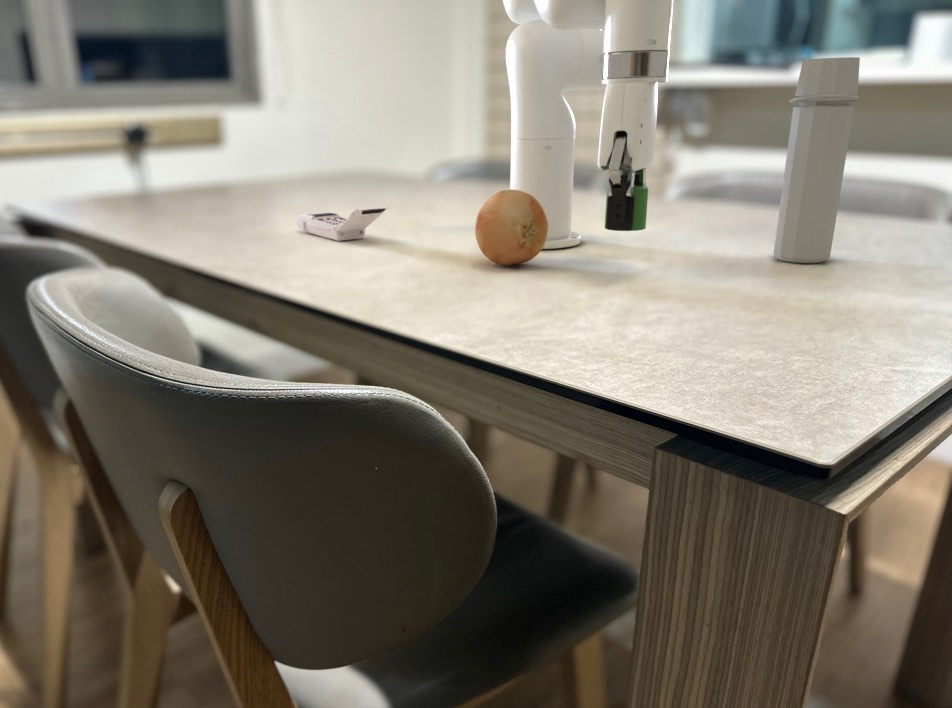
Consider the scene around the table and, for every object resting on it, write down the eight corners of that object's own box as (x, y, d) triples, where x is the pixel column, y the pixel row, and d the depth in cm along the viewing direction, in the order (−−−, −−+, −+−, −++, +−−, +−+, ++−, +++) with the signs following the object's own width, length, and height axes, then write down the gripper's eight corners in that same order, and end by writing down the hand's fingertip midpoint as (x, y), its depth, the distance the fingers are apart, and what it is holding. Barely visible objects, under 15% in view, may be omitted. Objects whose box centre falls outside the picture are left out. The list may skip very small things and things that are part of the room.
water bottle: (840, 265, 105) (874, 56, 96) (775, 264, 106) (803, 58, 98) (821, 252, 113) (851, 59, 104) (761, 251, 115) (786, 61, 106)
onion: (505, 275, 104) (506, 196, 100) (460, 264, 112) (460, 189, 108) (562, 266, 109) (565, 189, 105) (515, 255, 117) (516, 184, 113)
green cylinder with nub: (600, 230, 100) (602, 183, 98) (610, 224, 105) (612, 180, 103) (640, 231, 98) (644, 184, 96) (649, 226, 102) (652, 180, 100)
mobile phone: (357, 209, 123) (287, 195, 143) (358, 248, 125) (289, 229, 145) (391, 206, 126) (317, 193, 146) (391, 244, 128) (319, 226, 148)
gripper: (620, 73, 104) (612, 217, 110) (583, 69, 90) (576, 235, 96) (680, 70, 100) (668, 219, 107) (651, 66, 86) (640, 238, 93)
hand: (624, 225), depth 101 cm, fingers closed on green cylinder with nub, 5 cm apart
